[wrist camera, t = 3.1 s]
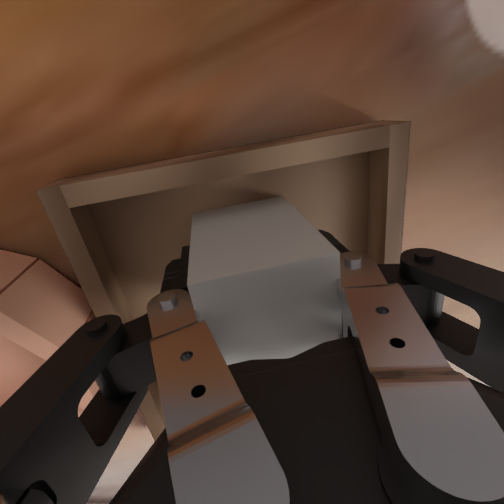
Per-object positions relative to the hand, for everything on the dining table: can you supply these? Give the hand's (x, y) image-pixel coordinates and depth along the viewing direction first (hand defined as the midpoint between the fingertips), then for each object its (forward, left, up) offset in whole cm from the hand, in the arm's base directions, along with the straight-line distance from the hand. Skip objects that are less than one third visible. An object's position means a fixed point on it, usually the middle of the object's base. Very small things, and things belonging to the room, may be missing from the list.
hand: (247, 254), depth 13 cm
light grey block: (0, 0, -1) cm, 1 cm away
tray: (0, +4, -1) cm, 4 cm away
